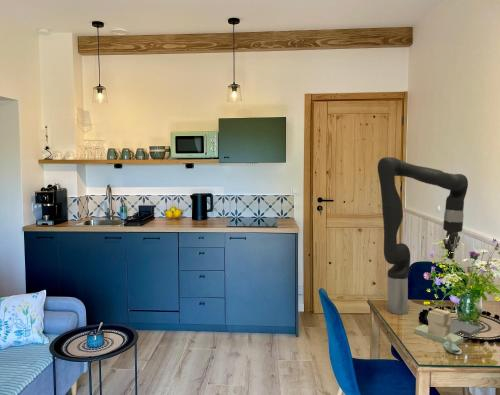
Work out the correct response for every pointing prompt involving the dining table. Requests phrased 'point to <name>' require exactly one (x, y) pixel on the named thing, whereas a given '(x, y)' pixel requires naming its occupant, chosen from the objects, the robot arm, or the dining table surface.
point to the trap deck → (455, 329)
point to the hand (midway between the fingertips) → (450, 258)
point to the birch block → (439, 322)
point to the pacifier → (451, 346)
